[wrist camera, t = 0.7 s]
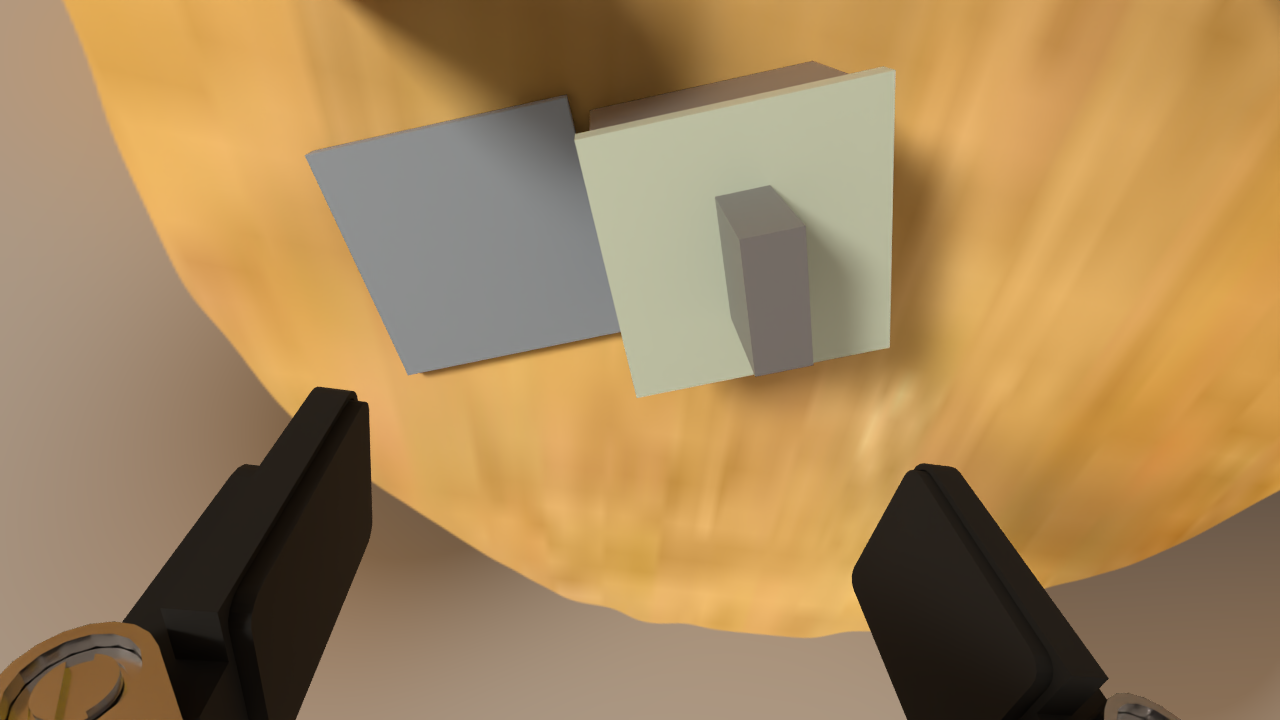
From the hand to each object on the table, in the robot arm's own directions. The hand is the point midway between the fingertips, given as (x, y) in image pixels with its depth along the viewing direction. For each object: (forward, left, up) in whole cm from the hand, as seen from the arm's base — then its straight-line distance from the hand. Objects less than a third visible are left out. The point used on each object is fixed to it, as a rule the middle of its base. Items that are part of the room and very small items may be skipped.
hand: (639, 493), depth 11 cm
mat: (+9, +4, -27) cm, 29 cm away
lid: (-5, +4, -19) cm, 21 cm away
